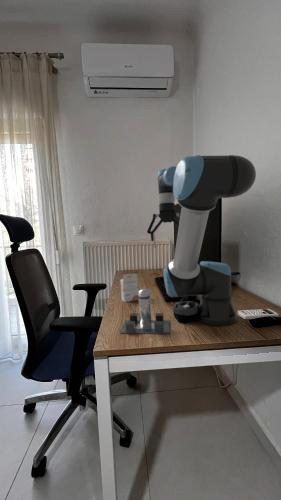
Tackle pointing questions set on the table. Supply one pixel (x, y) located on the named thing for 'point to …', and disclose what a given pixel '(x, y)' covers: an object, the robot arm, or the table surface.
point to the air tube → (144, 308)
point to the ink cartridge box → (129, 288)
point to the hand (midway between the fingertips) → (168, 247)
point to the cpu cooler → (186, 311)
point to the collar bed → (134, 328)
